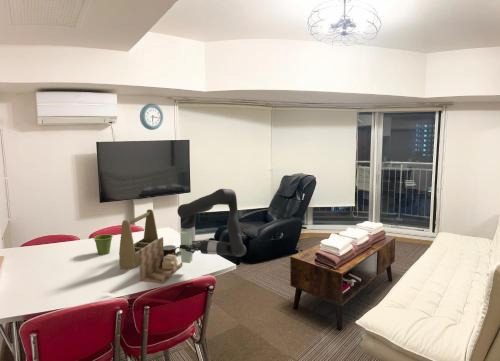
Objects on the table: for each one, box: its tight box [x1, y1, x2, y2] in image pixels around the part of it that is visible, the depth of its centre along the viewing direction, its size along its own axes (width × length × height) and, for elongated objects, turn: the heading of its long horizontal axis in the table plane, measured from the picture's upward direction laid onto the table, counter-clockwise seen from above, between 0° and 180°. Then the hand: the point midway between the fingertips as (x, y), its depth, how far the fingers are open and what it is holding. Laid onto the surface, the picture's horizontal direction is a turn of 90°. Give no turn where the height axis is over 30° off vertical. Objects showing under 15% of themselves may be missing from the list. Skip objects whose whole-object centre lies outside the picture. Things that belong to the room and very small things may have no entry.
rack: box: [139, 236, 183, 284], centre depth 181 cm, size 24×13×18 cm, turn 167°
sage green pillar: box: [179, 231, 193, 264], centre depth 182 cm, size 4×5×17 cm
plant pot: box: [93, 233, 114, 256], centre depth 216 cm, size 12×12×11 cm
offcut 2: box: [162, 259, 179, 269], centre depth 191 cm, size 6×7×4 cm
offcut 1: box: [163, 254, 177, 263], centre depth 190 cm, size 5×6×3 cm
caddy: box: [118, 209, 159, 270], centre depth 202 cm, size 29×11×30 cm, turn 168°
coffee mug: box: [163, 244, 181, 257], centre depth 200 cm, size 12×9×10 cm
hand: (181, 245), depth 183 cm, fingers closed on sage green pillar, 4 cm apart
